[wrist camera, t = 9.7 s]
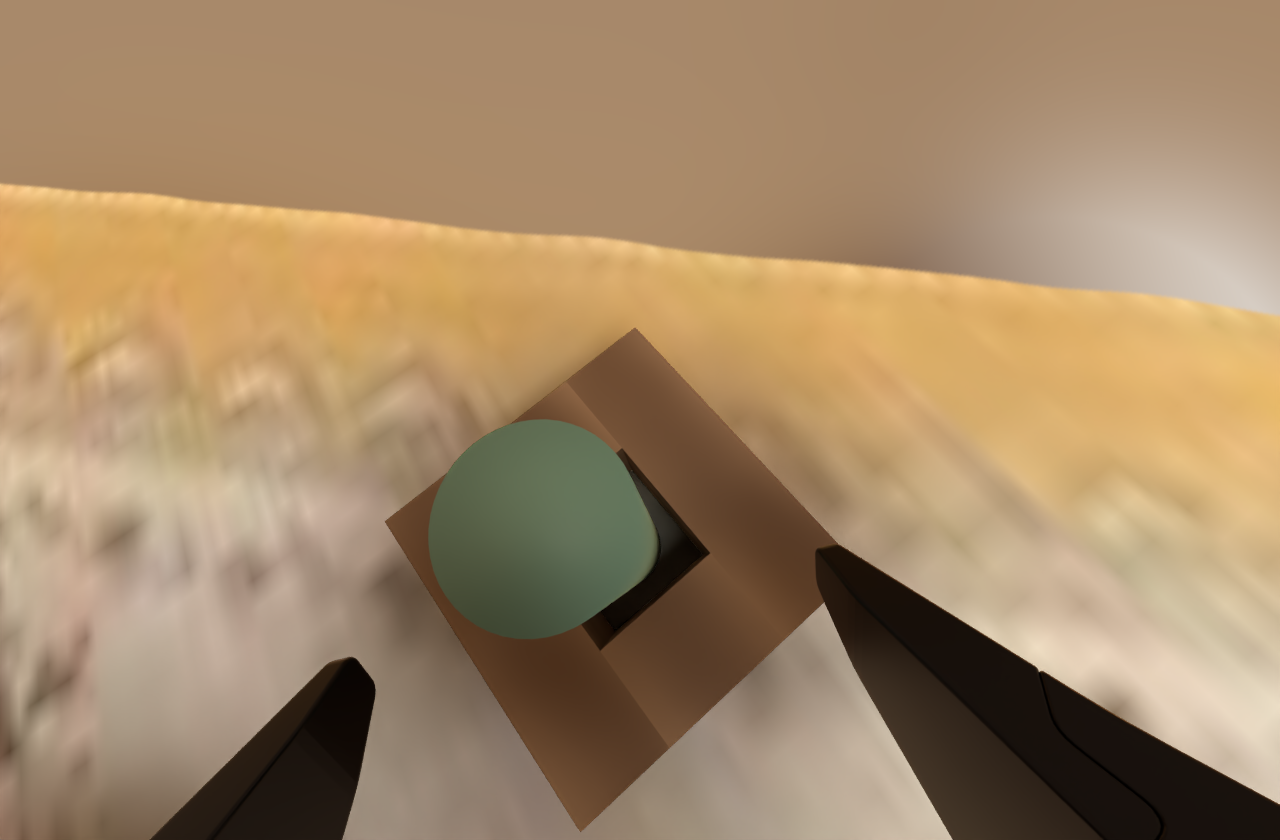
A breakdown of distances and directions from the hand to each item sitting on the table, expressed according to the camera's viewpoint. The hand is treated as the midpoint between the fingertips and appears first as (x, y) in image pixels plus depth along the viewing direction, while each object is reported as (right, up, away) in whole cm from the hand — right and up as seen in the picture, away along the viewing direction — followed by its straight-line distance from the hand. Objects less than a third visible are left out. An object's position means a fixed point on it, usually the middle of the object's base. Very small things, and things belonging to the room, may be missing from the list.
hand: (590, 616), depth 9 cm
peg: (0, -1, +10) cm, 10 cm away
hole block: (0, -1, +10) cm, 10 cm away
